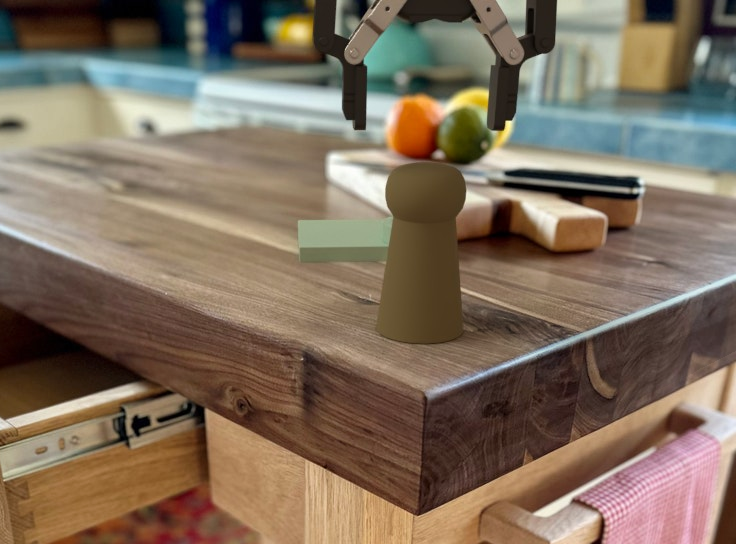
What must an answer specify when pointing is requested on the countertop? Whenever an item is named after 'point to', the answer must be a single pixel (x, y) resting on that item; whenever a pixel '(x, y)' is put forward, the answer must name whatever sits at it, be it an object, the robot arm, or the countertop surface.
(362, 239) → the mint green base plate
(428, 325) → the cork
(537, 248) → the countertop surface
